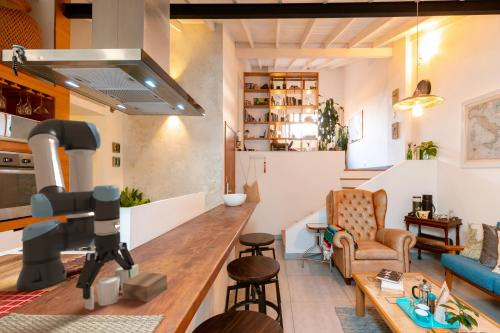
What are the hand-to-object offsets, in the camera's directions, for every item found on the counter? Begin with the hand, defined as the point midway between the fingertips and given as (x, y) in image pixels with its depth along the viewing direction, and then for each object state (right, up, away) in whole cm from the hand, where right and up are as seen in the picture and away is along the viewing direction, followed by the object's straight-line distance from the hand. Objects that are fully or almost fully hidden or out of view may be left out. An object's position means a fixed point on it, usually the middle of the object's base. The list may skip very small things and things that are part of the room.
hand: (108, 298), depth 85 cm
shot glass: (0, -1, 0) cm, 1 cm away
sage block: (0, -1, +14) cm, 14 cm away
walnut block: (+10, -1, +5) cm, 11 cm away
